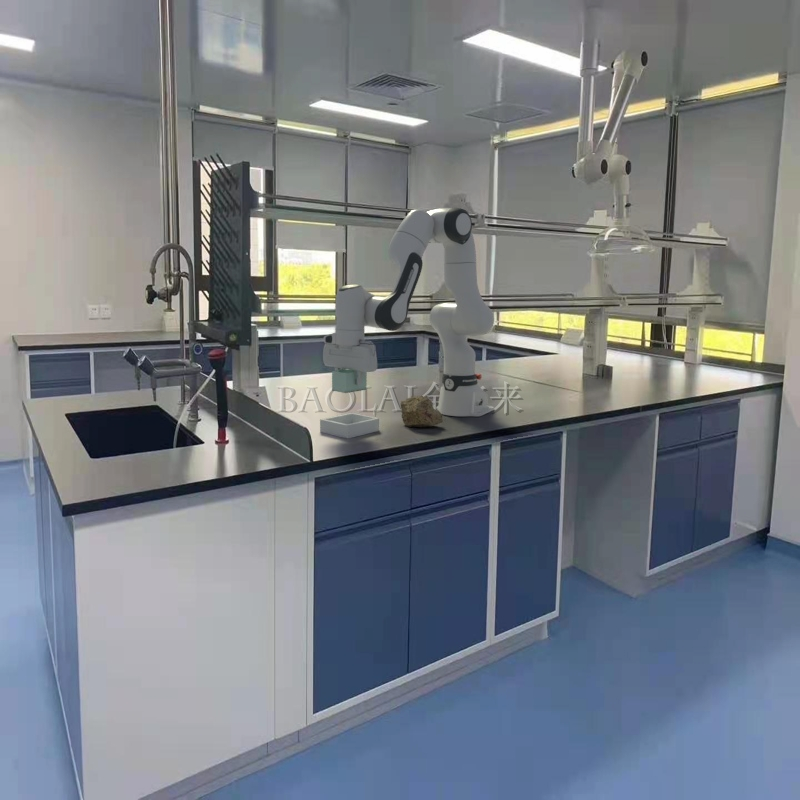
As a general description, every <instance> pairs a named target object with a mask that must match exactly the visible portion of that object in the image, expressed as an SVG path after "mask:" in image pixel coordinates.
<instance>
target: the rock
mask: <svg viewBox="0 0 800 800" xmlns="http://www.w3.org/2000/svg"><path fill="white" fill-rule="evenodd" d="M400 408H401V419H402V421H403V424H404V425H405V426H406V427H409V428H412V427H413V428H414V427H416V428H426V427H434V426H435V425H439V424H442V423H443V417H442V416H443V414H441V413H440V412H439V411H438V410H437V409H436V408H434V407H433V401H432V400H431V399H430V398H428V397H424V396H423V395H420V396H419V395H417V396H416V395H414V396H411V397H408V398H406V399H405V400H401V401H400Z"/></svg>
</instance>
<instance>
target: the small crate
mask: <svg viewBox="0 0 800 800" xmlns="http://www.w3.org/2000/svg"><path fill="white" fill-rule="evenodd" d="M358 375H359V374H357V370H350V369H343V370H338V371H335V370H333V371H331V391H332V392H338V393H342V394H348V393H355V392H362V391H367V381H368V380H367V375H368V372H365V375H364V377H363V379H362V385H355V379H357V377H358Z"/></svg>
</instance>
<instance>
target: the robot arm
mask: <svg viewBox="0 0 800 800" xmlns="http://www.w3.org/2000/svg"><path fill="white" fill-rule="evenodd" d="M472 223H473V222H472V218H471V216H470V213H469V212H468V211H467V210H466V209H465V208H464V209H463V208H460V207H439V208H435V209H431V210H423V209H420V208H419V209H418V208H417V209H412V210H411V211H410V212H408V213H407V215H405V217H404V218H403V220H402V221H401V223H400V224H399V226H398V227H397V229H396V230H395V232H394V234H393V236H392V237H391V240H390V242H389V245H388V249H387V251H388V256H389V259H390V260H391V262H392V263H393V264H394V265H395V266H396V267H398V268H399V274H398V277H397V279H396V282H395V284H394V287H393V290H392V292H391V293H390V294H388V295H386V296H379V295H375V294H373V293H370V292H369V291H368V290H366V289H365V288H364V287H363V285H361V284H357V283H356V284H348V285H347V284H346V285H343V286H341V287H340V288H338V289H337V293H336V296H335V316H336V317H335V318H336V324H335V331H334V332H331V333H330V334H327V335H324V336H323V343H324V346H323V350H322V360H323V361H322V362H323V364H324V366H325V367H330V368H331V367H332V368H334V371H338V370H346V369H350V370H357V374H359V375H358V377H357V379H355V385H362V379H363V377H364V375H365V372H367V373H372V372H375V371H376V370H378V358H377V349H376V348H377V347H376V345H375V343H374V342H373V341H371V340H366V339H365V327H370V328H371V327H372V328H376V329H383V330H385V331H389V332H394V331H398V330H400V329H401V328H402V327H403V326H404V324H405V323H406V321H407V318H408V313H409V307H410V303H411V300H412V299H413V298H412V297H413V296H414V295H413V294H414V292H415V289H416V287H417V284H418V281H419V279H420V276H421V273H422V269H423V259H422V258H423V256H424V254H425V251H426V249H427V247H428V245H429V244H431V243H433V244H442V246H443V248H444V250H443V252H444V253H443V263H444V264H443V275H444V277H443V278H444V281H443V283H444V287H445V288H446V289H447V290H448V292H450V293H451V294H452V297H453V298H454V301H455V302H442V303H439V304H435V305H434V306H433V307H432V308H431V310H430V313H429V322H430V323H429V324H430V326H431V327H432V329H434V330H435V332H436V333H437V335H438V337H439V339H440V342H441V347H442V350H443V373H442V376H441V379H442V380H441V383H442V386H441V387H440V390H439V396H438V397H439V398H438V405H437V406H436V408H435V410H438V411H439V412H440V413H441V415H444V416H450V417H451V416H452V417H482V416H484V415H487V414H488V413H491V412H492V411H494V410H495V406H492V405H489V396H488V394H487V392H485V390H484V389H482V388H481V386H480V385H479V384H478V383H479V382H478V381H481V380H482V374H480V373H476V357H477V356H476V351H475V350H474V348H472V346H470V344H469V343H468V341H467V337H466V336H470V337H477V336H483V335H487V334H489V332H490V331H491V330H492V328H493V327H494V324H495V323H494V322H495V317H494V313H493V311H492V308H490V307H489V306H488V305H487V304H486V303H485V301H484V299H483V298H482V296H481V293H480V289H479V286H478V278H477V277H478V276H477V275H478V273H477V253H476V252H477V251H476V244H475V243H476V242H475V239H474V236H473V233H472V231H473V230H472V229H473V228H472V227H473V224H472Z"/></svg>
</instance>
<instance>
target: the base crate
mask: <svg viewBox="0 0 800 800" xmlns="http://www.w3.org/2000/svg"><path fill="white" fill-rule="evenodd" d="M319 427H320V428H319V431H320V433H322V434H327V435H331V436H335V437H340V438H343V439H347V440H348V439H351V438H355V437H359V436H364V435H368V434H371V433H377V432H379V431H380V418H379V417H375V416H369V415H364V414H359V413H355V412H349V413H345V414H339V415H336V416H331V417H325V418H321V419H320V420H319Z"/></svg>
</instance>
